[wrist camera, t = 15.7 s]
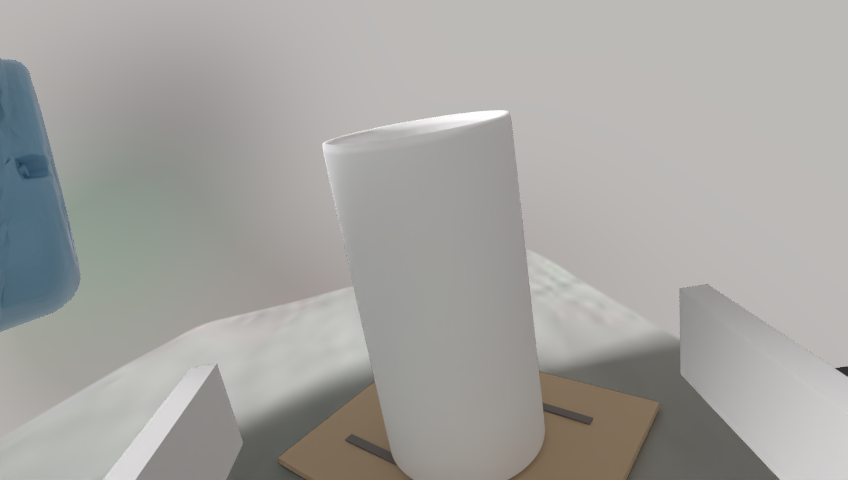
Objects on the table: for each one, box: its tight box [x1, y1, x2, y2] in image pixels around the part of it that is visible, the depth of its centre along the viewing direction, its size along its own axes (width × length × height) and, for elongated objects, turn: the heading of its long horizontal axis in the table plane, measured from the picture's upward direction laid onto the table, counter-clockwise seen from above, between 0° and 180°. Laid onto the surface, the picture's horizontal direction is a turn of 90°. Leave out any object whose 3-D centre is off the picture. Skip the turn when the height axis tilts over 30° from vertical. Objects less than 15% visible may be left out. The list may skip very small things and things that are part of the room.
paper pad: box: [278, 372, 659, 480], centre depth 26 cm, size 16×13×1 cm
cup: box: [322, 110, 545, 480], centre depth 24 cm, size 8×8×16 cm
